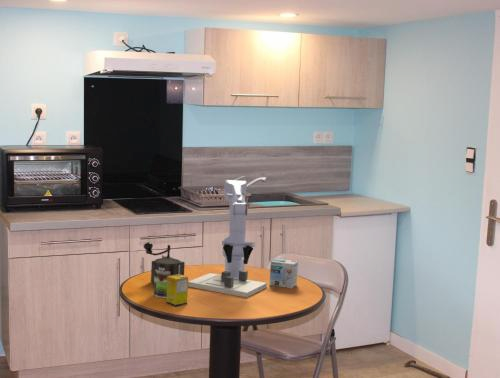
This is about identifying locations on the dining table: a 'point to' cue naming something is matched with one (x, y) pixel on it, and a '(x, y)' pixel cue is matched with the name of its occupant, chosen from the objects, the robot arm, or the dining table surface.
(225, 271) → the dark gray block
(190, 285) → the breaker board
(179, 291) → the supplement box
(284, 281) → the light bulb box
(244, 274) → the handle
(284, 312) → the dining table surface
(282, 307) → the dining table surface
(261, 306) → the dining table surface
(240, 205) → the robot arm
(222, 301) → the dining table surface
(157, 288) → the coffee can
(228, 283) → the handle
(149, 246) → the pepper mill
